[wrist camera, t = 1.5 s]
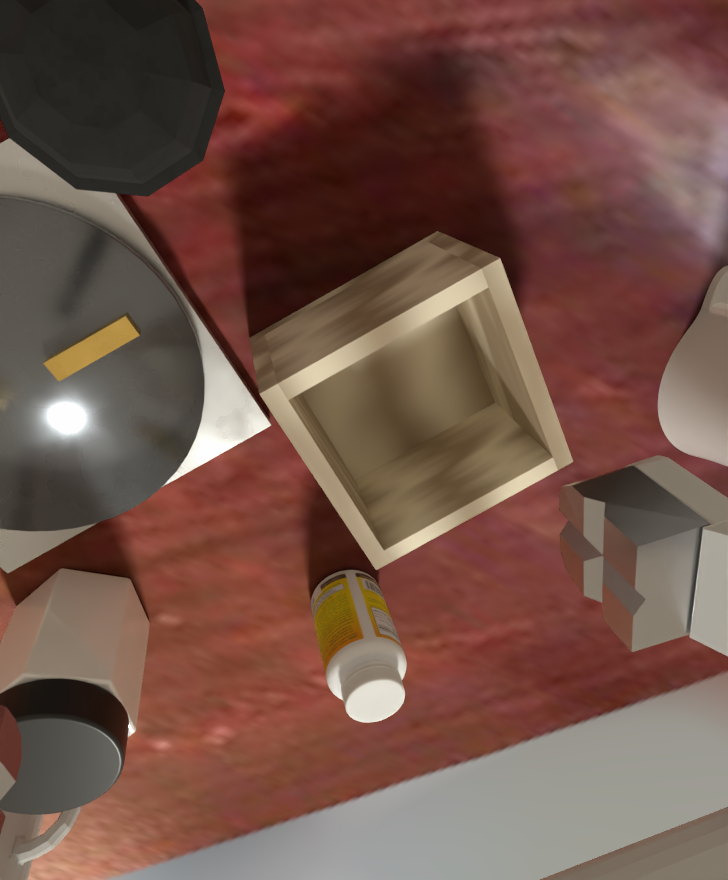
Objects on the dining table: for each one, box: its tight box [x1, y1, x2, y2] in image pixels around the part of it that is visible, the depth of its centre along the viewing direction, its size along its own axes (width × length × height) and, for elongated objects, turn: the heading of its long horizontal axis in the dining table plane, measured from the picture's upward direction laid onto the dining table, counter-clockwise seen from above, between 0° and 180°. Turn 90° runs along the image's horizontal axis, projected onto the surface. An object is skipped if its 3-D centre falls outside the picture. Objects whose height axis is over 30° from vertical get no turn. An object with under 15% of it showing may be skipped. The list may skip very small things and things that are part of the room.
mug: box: [0, 806, 82, 880], centre depth 43 cm, size 12×9×10 cm
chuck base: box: [0, 138, 271, 573], centre depth 34 cm, size 20×20×1 cm
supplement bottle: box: [311, 570, 407, 722], centre depth 42 cm, size 6×6×10 cm
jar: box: [0, 568, 150, 815], centre depth 37 cm, size 9×8×12 cm
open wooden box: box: [250, 231, 573, 570], centre depth 35 cm, size 13×13×9 cm
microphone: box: [0, 0, 225, 196], centre depth 21 cm, size 6×6×20 cm
